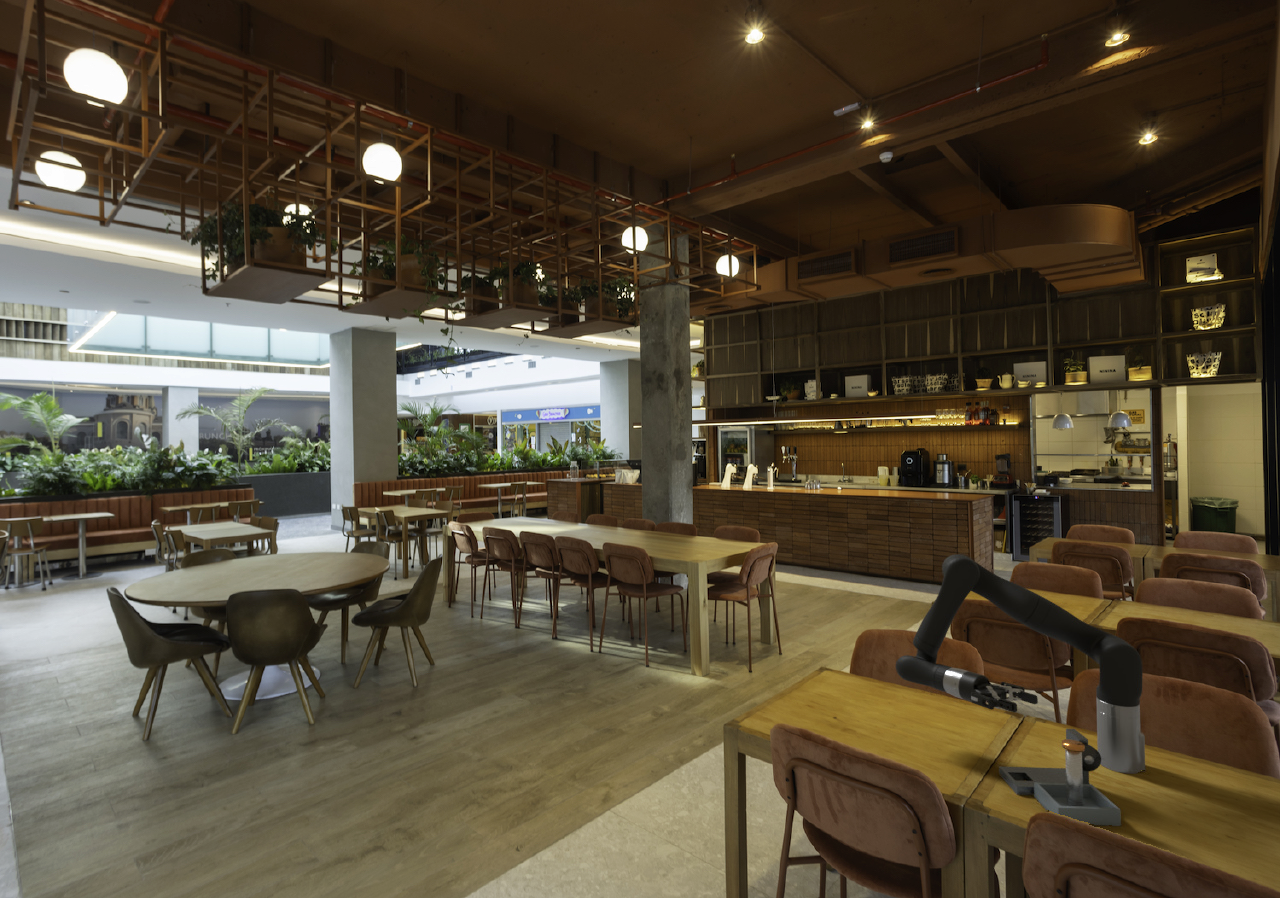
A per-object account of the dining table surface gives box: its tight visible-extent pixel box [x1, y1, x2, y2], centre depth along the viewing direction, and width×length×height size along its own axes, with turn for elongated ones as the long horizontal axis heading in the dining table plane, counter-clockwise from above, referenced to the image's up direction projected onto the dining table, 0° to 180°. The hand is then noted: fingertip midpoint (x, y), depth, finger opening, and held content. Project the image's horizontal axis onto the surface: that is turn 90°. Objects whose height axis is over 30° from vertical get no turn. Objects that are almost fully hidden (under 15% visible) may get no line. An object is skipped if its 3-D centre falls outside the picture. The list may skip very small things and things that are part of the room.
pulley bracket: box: [998, 728, 1101, 796], centre depth 162 cm, size 20×10×13 cm, turn 84°
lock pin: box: [1061, 738, 1085, 807], centre depth 151 cm, size 4×4×15 cm
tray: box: [1033, 783, 1122, 827], centre depth 151 cm, size 13×11×4 cm
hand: (1026, 704), depth 160 cm, fingers open, 8 cm apart
